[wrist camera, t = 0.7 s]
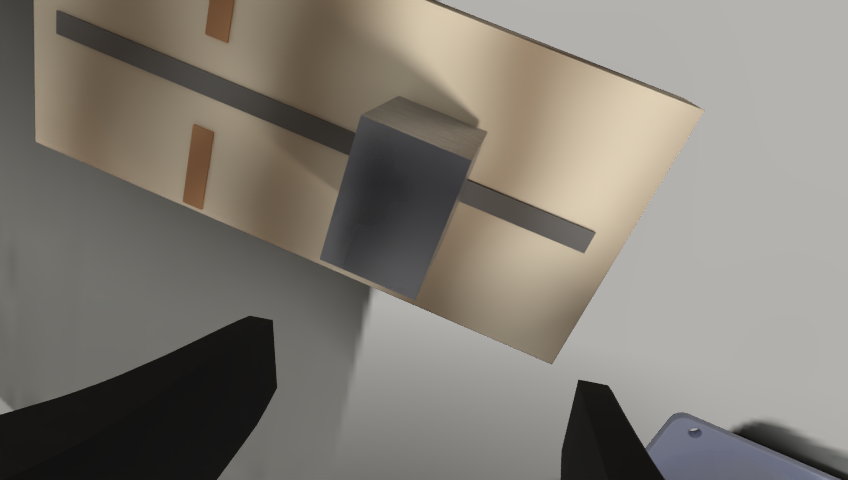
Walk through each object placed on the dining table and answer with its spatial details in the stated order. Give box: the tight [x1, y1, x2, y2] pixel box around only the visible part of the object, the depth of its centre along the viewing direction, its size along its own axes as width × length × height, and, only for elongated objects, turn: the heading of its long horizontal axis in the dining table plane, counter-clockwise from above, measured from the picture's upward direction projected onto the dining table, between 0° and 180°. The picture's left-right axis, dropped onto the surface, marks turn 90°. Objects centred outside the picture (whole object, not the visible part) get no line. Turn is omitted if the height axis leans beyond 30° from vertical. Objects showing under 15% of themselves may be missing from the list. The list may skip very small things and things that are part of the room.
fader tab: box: [320, 96, 487, 300], centre depth 15 cm, size 3×4×4 cm
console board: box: [34, 0, 704, 364], centre depth 18 cm, size 22×10×2 cm, turn 70°
